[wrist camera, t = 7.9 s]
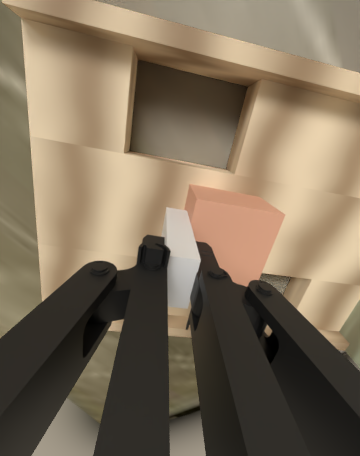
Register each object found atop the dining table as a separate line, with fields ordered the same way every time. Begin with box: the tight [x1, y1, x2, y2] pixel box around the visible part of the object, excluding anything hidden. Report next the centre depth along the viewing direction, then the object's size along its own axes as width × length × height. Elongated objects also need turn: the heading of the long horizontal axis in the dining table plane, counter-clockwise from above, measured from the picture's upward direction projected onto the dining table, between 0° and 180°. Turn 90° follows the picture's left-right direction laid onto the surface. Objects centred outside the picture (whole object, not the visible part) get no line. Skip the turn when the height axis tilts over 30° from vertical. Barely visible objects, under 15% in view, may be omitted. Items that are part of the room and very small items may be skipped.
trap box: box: [2, 0, 360, 368], centre depth 17 cm, size 31×22×6 cm
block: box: [184, 184, 285, 287], centre depth 16 cm, size 6×6×4 cm
